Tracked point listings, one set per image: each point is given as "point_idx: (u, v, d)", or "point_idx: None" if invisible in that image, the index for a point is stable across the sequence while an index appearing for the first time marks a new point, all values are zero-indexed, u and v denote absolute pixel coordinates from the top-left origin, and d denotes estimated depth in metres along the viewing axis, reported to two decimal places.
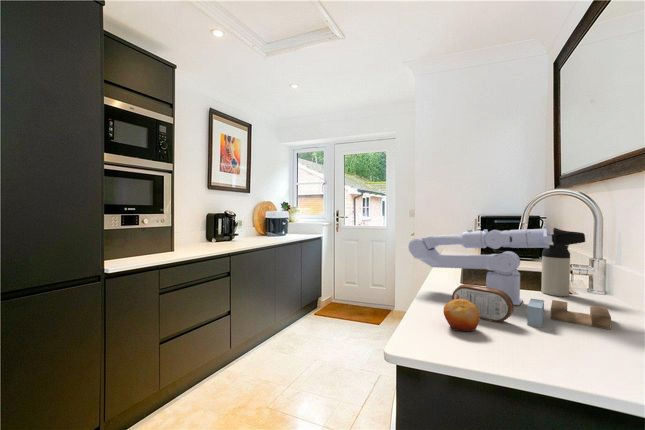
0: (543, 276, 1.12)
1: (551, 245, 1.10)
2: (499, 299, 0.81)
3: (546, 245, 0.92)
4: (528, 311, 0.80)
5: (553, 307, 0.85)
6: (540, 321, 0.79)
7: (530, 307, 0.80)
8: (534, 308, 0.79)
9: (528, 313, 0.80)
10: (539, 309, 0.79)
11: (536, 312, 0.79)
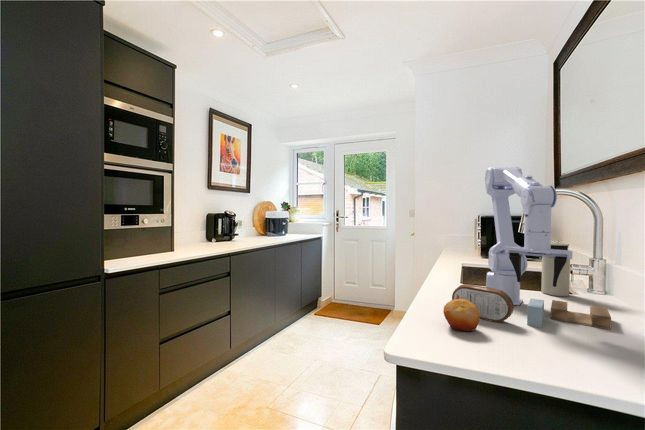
0: (543, 276, 1.12)
1: (551, 245, 1.10)
2: (499, 299, 0.81)
3: None
4: (528, 311, 0.80)
5: (553, 307, 0.85)
6: (540, 321, 0.79)
7: (530, 307, 0.80)
8: (534, 308, 0.79)
9: (528, 313, 0.80)
10: (539, 309, 0.79)
11: (536, 312, 0.79)
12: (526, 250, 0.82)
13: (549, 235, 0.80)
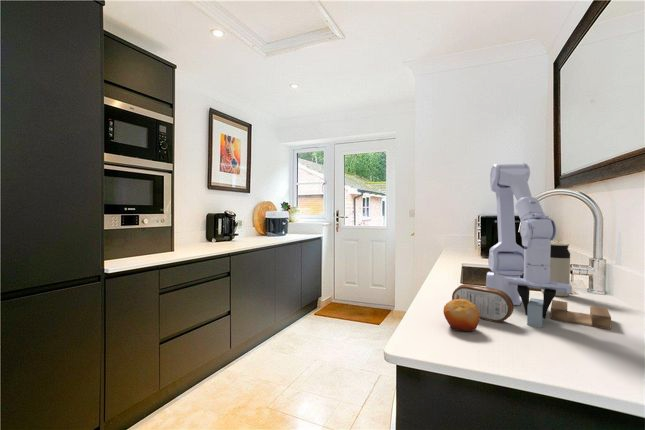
0: None
1: (551, 245, 1.10)
2: (499, 299, 0.81)
3: None
4: (528, 310, 0.80)
5: (553, 307, 0.85)
6: (540, 320, 0.79)
7: (530, 306, 0.80)
8: (534, 307, 0.79)
9: (528, 312, 0.80)
10: (539, 308, 0.79)
11: (536, 311, 0.79)
12: (525, 283, 0.82)
13: (548, 268, 0.80)
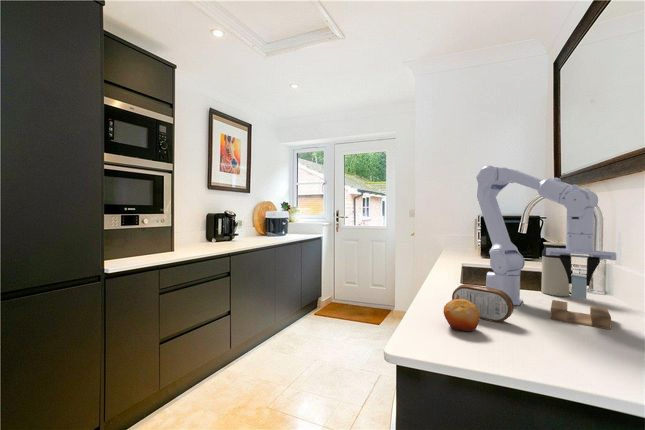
0: (543, 276, 1.12)
1: (551, 245, 1.10)
2: (499, 299, 0.81)
3: None
4: (572, 283, 0.82)
5: (553, 307, 0.85)
6: (585, 292, 0.81)
7: (574, 279, 0.82)
8: (579, 280, 0.81)
9: (572, 285, 0.82)
10: (584, 280, 0.81)
11: (581, 283, 0.81)
12: (569, 251, 0.84)
13: (592, 237, 0.83)
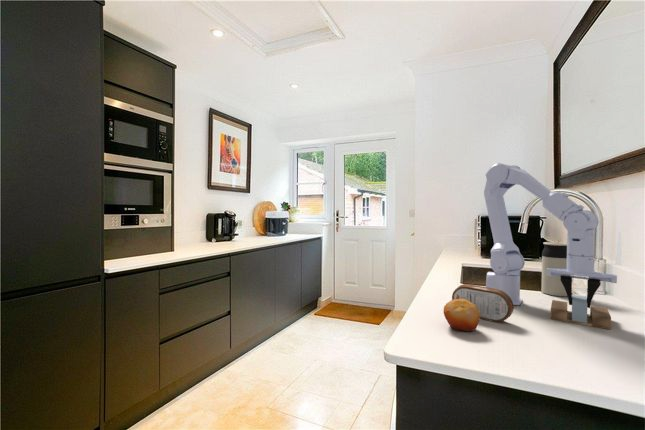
0: (543, 276, 1.12)
1: (551, 245, 1.10)
2: (499, 299, 0.81)
3: None
4: (573, 306, 0.82)
5: (553, 307, 0.85)
6: (586, 316, 0.81)
7: (575, 302, 0.82)
8: (579, 303, 0.81)
9: (573, 308, 0.82)
10: (584, 304, 0.81)
11: (581, 307, 0.81)
12: (569, 273, 0.85)
13: (593, 259, 0.83)
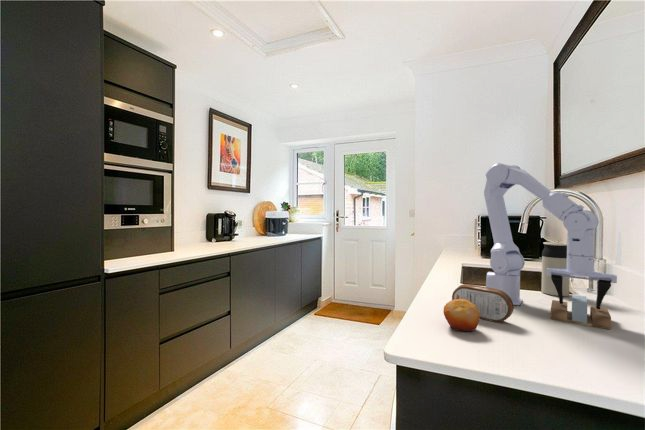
0: (543, 276, 1.12)
1: (551, 245, 1.10)
2: (499, 299, 0.81)
3: None
4: (573, 306, 0.82)
5: (553, 307, 0.85)
6: (586, 316, 0.81)
7: (575, 303, 0.82)
8: (579, 303, 0.81)
9: (573, 308, 0.82)
10: (584, 304, 0.81)
11: (581, 307, 0.81)
12: (569, 273, 0.85)
13: (593, 259, 0.83)
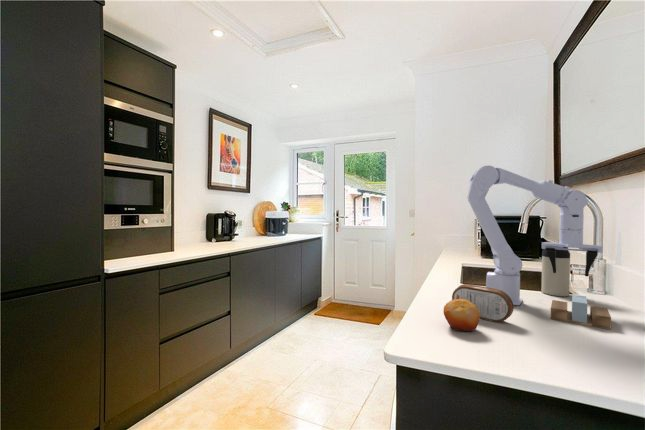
0: (543, 276, 1.12)
1: None
2: (499, 299, 0.81)
3: None
4: (573, 306, 0.82)
5: (553, 307, 0.85)
6: (586, 316, 0.81)
7: (575, 303, 0.82)
8: (579, 303, 0.81)
9: (573, 308, 0.82)
10: (584, 304, 0.81)
11: (581, 307, 0.81)
12: (561, 245, 0.96)
13: (582, 232, 0.94)
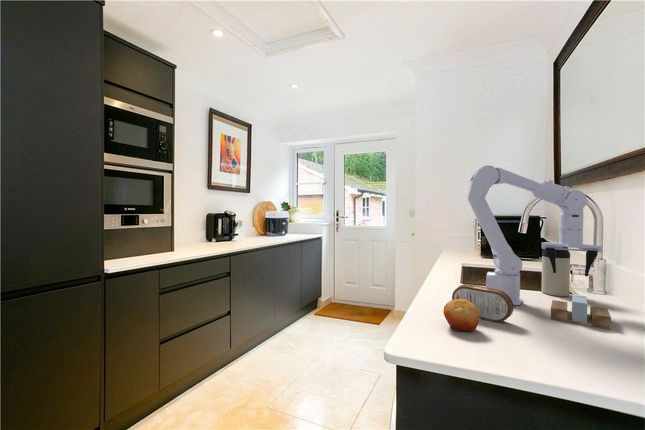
0: (543, 276, 1.12)
1: None
2: (499, 299, 0.81)
3: None
4: (573, 306, 0.82)
5: (553, 307, 0.85)
6: (586, 316, 0.81)
7: (575, 303, 0.82)
8: (579, 303, 0.81)
9: (573, 308, 0.82)
10: (584, 304, 0.81)
11: (581, 307, 0.81)
12: (561, 245, 0.96)
13: (582, 232, 0.94)
